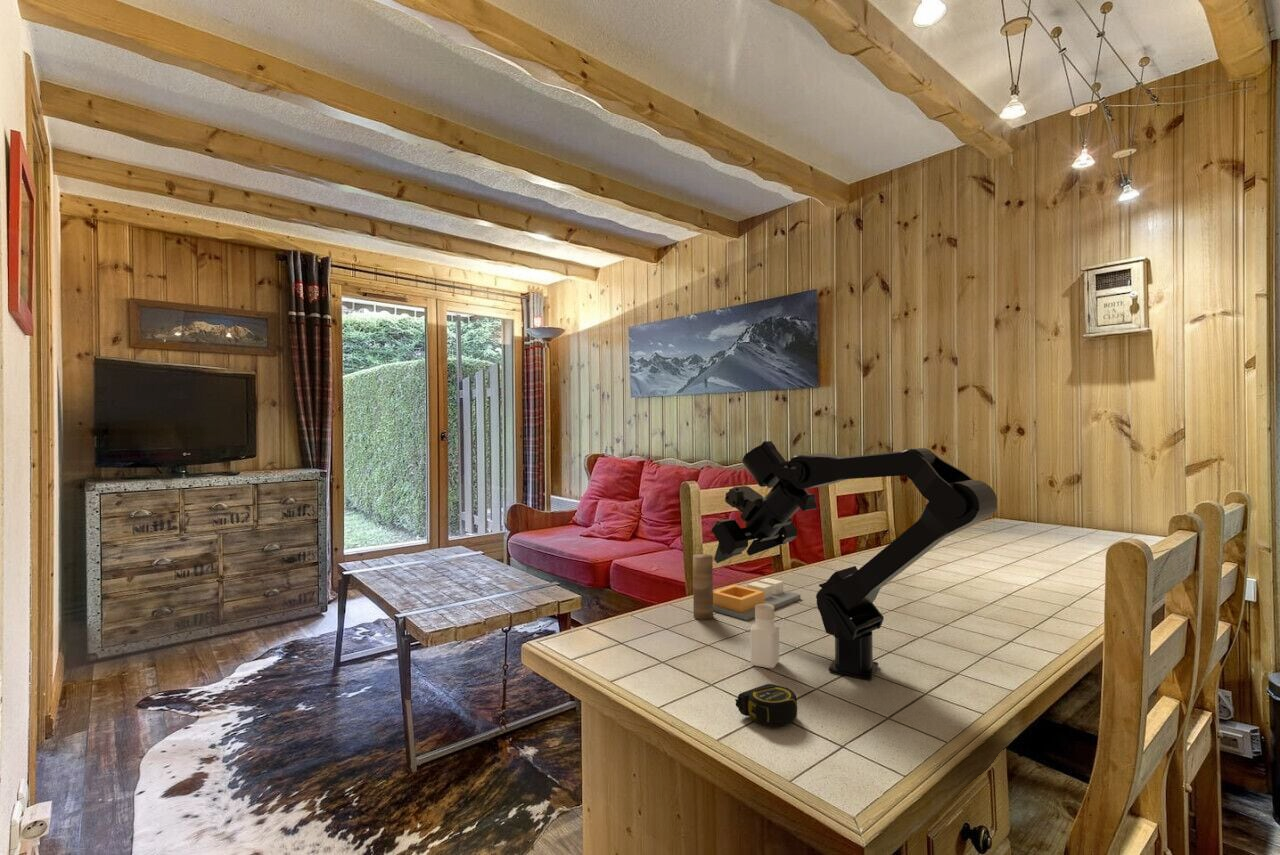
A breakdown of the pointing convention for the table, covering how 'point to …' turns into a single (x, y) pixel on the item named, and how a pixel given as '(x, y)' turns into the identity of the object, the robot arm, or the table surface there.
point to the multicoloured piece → (751, 598)
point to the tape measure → (769, 705)
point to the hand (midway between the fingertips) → (732, 557)
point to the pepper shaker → (764, 637)
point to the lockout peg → (703, 586)
